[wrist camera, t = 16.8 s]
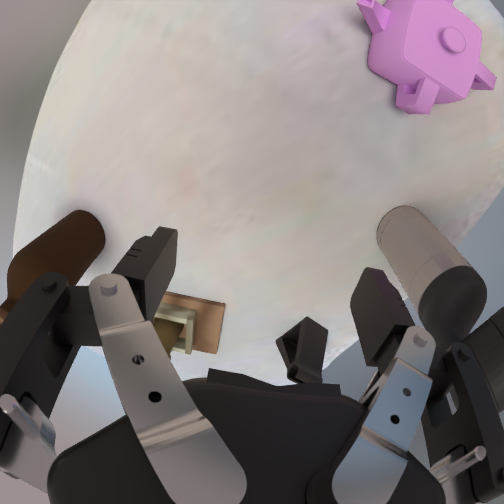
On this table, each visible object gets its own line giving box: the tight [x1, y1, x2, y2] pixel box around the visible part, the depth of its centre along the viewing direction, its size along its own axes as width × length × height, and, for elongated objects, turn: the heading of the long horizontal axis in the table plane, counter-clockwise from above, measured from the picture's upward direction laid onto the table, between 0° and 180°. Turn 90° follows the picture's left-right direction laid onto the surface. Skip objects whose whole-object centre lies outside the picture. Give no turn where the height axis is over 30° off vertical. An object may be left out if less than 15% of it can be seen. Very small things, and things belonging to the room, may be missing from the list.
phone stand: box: [276, 317, 328, 384], centre depth 51 cm, size 9×6×12 cm, turn 141°
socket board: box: [152, 292, 225, 355], centre depth 54 cm, size 20×14×4 cm
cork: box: [153, 317, 184, 360], centre depth 50 cm, size 6×6×11 cm
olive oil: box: [0, 210, 105, 325], centre depth 36 cm, size 11×11×25 cm
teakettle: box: [357, 0, 497, 114], centre depth 23 cm, size 17×17×12 cm
